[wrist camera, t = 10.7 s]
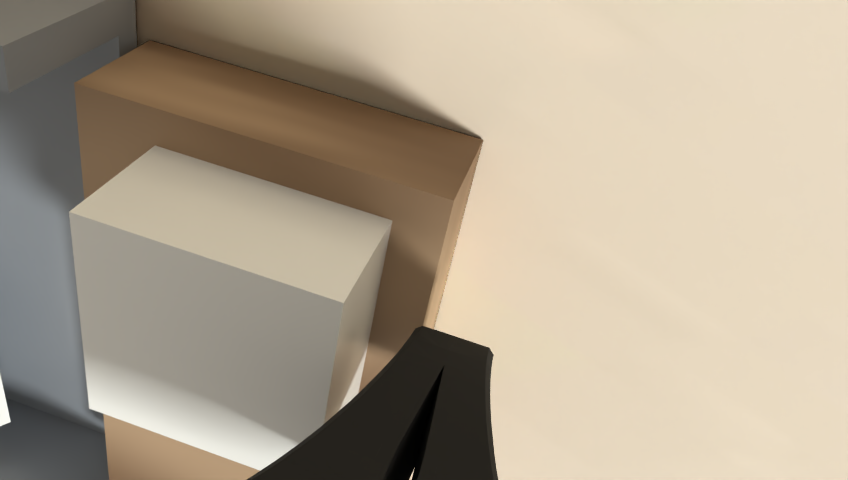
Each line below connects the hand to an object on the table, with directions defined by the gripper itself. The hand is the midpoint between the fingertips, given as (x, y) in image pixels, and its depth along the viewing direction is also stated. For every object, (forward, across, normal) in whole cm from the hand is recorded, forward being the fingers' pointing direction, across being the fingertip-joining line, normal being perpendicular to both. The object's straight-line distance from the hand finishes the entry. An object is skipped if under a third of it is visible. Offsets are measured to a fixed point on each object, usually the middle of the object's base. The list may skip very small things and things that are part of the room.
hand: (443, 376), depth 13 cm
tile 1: (+1, +4, 0) cm, 4 cm away
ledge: (+3, +4, +3) cm, 6 cm away
